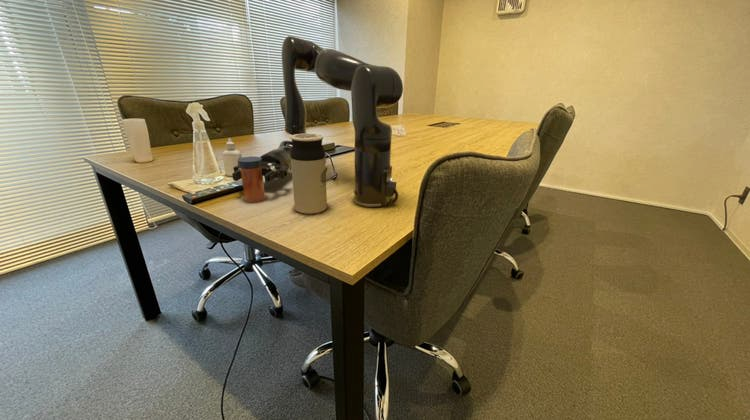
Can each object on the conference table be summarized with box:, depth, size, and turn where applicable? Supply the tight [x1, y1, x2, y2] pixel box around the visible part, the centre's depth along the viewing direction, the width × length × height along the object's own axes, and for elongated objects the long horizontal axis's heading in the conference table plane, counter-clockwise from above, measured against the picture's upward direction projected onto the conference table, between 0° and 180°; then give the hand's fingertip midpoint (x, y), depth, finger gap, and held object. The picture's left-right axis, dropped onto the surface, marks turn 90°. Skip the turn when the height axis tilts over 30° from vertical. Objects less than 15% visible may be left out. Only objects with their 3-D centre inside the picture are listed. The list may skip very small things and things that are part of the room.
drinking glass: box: [121, 118, 154, 164], centre depth 110 cm, size 7×7×15 cm
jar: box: [240, 166, 266, 203], centre depth 79 cm, size 5×5×10 cm
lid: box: [238, 156, 262, 168], centre depth 77 cm, size 6×6×2 cm
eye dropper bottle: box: [221, 137, 243, 178], centre depth 98 cm, size 4×6×12 cm
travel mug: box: [289, 133, 328, 215], centre depth 73 cm, size 8×8×18 cm
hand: (250, 178), depth 78 cm, fingers open, 8 cm apart
